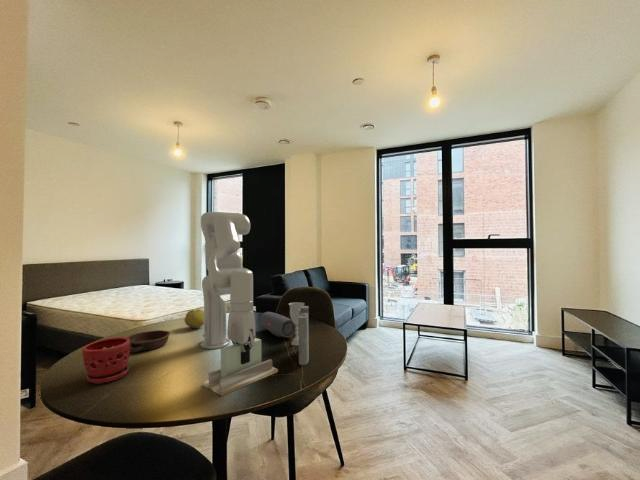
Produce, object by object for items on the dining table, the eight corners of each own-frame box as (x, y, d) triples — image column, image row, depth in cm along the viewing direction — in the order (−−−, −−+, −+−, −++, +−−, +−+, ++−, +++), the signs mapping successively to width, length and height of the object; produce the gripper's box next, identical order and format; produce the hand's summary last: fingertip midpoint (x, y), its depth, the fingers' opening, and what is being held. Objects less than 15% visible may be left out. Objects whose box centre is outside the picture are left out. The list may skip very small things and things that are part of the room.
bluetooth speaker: (258, 331, 157) (258, 311, 157) (274, 328, 162) (274, 309, 163) (279, 342, 139) (279, 320, 139) (297, 338, 144) (296, 317, 144)
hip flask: (299, 350, 127) (298, 302, 127) (308, 350, 127) (308, 302, 128) (298, 365, 111) (298, 311, 111) (309, 364, 111) (309, 310, 112)
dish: (111, 355, 124) (111, 343, 125) (146, 338, 146) (146, 328, 147) (151, 355, 123) (151, 343, 123) (180, 339, 145) (180, 328, 145)
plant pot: (102, 370, 109) (102, 336, 109) (138, 370, 108) (138, 336, 108) (71, 387, 96) (72, 349, 96) (112, 387, 95) (112, 349, 95)
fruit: (179, 330, 159) (179, 311, 159) (192, 325, 171) (192, 307, 171) (198, 331, 157) (198, 312, 157) (210, 325, 169) (210, 307, 169)
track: (202, 385, 96) (202, 372, 96) (258, 364, 112) (258, 353, 113) (221, 396, 89) (221, 382, 89) (278, 371, 105) (277, 360, 105)
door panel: (220, 376, 96) (220, 348, 96) (256, 363, 107) (256, 338, 107) (226, 379, 94) (225, 350, 95) (261, 365, 105) (261, 339, 105)
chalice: (306, 341, 139) (305, 302, 139) (303, 346, 132) (303, 305, 132) (290, 341, 140) (290, 302, 140) (287, 345, 133) (287, 305, 133)
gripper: (218, 305, 104) (218, 359, 103) (247, 311, 93) (247, 371, 93) (237, 302, 109) (237, 353, 109) (266, 307, 99) (266, 364, 98)
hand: (242, 361), depth 101 cm, fingers closed on door panel, 3 cm apart
